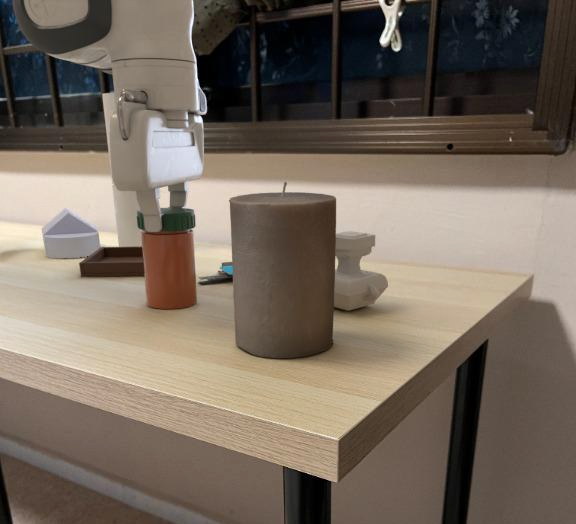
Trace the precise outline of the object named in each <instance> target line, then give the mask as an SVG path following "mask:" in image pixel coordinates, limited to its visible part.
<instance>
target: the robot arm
mask: <svg viewBox="0 0 576 524" xmlns="http://www.w3.org/2000/svg"><path fill="white" fill-rule="evenodd" d="M11 1H12V9H13V13H14V18H15V19H16V23H17V25H18V27H19V30H20V31H21V33H22V35H23V37H25V39H26V40H27V41H28V42H29V43H30V44H31V45H32V46H33V47H34V48H35V49H37V50H39V51H40V52H42V53H45V54H47V55H48V56H51V57H53V58H55V59H59V60H63V61H68V62H71V63H73V64H78V65H81V66H87V67H91V68H94V69H96V70H98V71H101V72H103V73H106V74H108V75H112V82H113V83H112V84H113V93H115V103H116V111H114V112H113V113H112V115H111V118H110V158H111V169H110V174H111V173H112V178H111V180H112V179H113V182H114V184H115V186H116V188H117V189H118V190H119V191H136V195H137V201H138V204H139V206H140V209H141V211H142V213H143V215H144V224H145V229H146V231H148V232H159V231H161V230H163V229H164V228H165V224H164V214H161V210H160V208H161V204H160V200H161V190H160V188H165V187H167V191H168V192H169V206H167V208H186V206H187V202H188V197H189V182H191V181H196V180H200V179H202V175H203V171H204V165H205V164H204V163H205V161H204V160H205V132H204V131H205V128H204V121H203V118H202V116H204V115H206V114H207V112H208V106H207V103H208V102H207V97H206V95H205V93H204V92H203V90H202V89H201V87H200V82H199V79H198V67H197V57H196V54H195V51H194V47H193V42H192V33H193V32H192V31H193V26H194V19H195V9H194V0H11Z"/></svg>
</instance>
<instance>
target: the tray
mask: <svg viewBox="0 0 576 524" xmlns="http://www.w3.org/2000/svg"><path fill="white" fill-rule="evenodd" d="M78 264H79V265H78V266H79V272H80V277H81V278H90V277H91V278H93V277H96V278H97V277H101V278H102V277H145V276H144V264H143V252H142V247H119V246H100V248H99V249H98V250H97V251H95V252H94V253H93V254H91V255H90V256H88V257H85V258H84V259H83V260H82V261H80V262H79V263H78Z"/></svg>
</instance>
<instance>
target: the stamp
mask: <svg viewBox="0 0 576 524" xmlns="http://www.w3.org/2000/svg"><path fill="white" fill-rule="evenodd" d="M373 247H376V234H373V233H367V232H361V231H360V232H359V231H352V230H347V231H343V232H338V233H337V232H336V249H335V258H336V259H337V267H336V268H335V287H334V309H335V308H336V309H340V310H342V311H343V310H344V311H347V312H350V311H353V310H357V309H360V308H364V307H367V306H370V305H374V304H375V302H376V301H377V300H378V299H379V298H380V296H382V295H383V293H384V292H385V291H386V289H387V288H389V281H388V278H387V277H386V276H385V275H384V274H382V273H378V272H375V271H374V272H373V271H369V270H364V269H361V265H360V264H361V259H362V257H366V256H368V255H370V254H371V253H372V252H373V251H372V250H373Z"/></svg>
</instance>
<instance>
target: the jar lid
mask: <svg viewBox="0 0 576 524" xmlns="http://www.w3.org/2000/svg"><path fill="white" fill-rule="evenodd" d="M160 210H161V214H164V224H165V228H164V229H163V230H161V231H182V230H189V229H191V230H193V229H195V228H196V227H197V226H196V214H195V209H192V208H188V207H187V208H168V207H160ZM137 225H138V228H139V229H141V230H145V231H146V229H145V224H144V215H143V213H142V211H141V210H138V211H137Z"/></svg>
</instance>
